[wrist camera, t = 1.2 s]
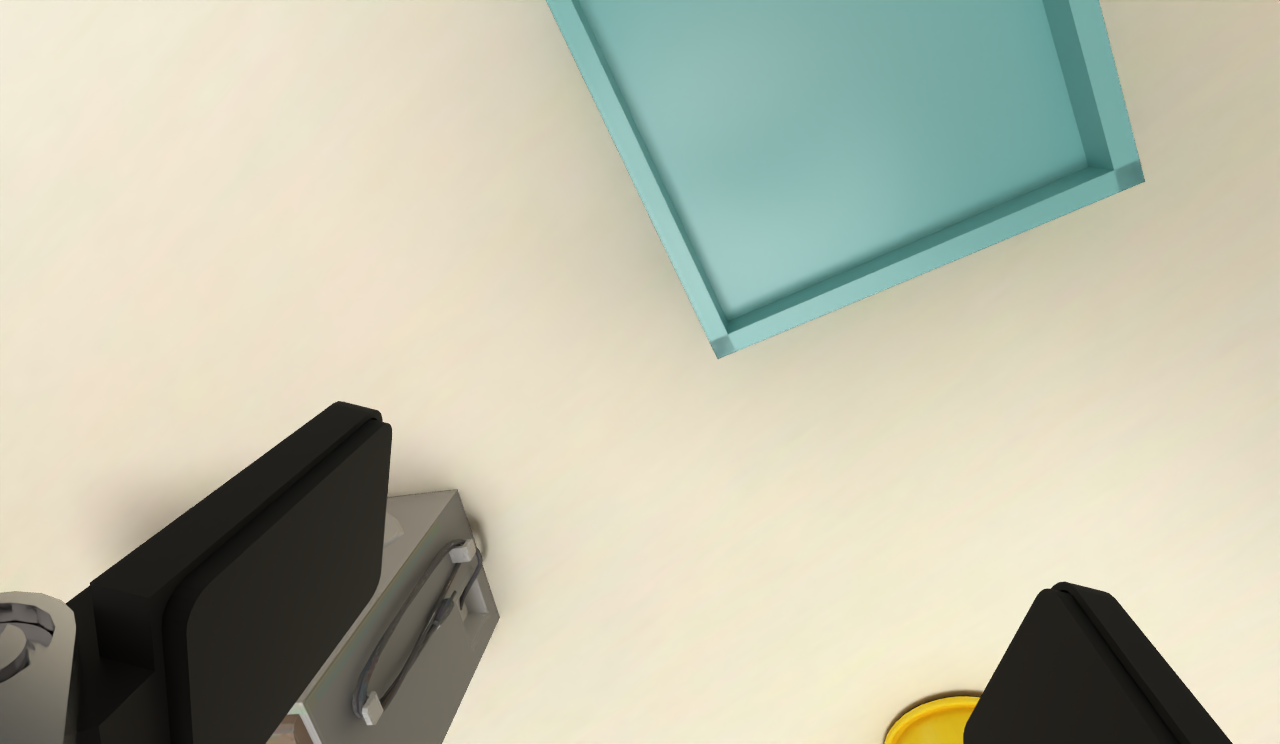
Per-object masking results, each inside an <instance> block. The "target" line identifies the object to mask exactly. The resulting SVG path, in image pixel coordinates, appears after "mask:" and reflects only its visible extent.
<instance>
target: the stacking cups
mask: <svg viewBox="0 0 1280 744" xmlns="http://www.w3.org/2000/svg"><path fill="white" fill-rule="evenodd" d="M979 699H980V697H969V696H961V697H948V698H943V699H939V700H934V701H931V702H928V703H925V704H922V705H920V706H918V707H916V708H914V709H912V710H911V711H909V712H907V713H906V714H904V715H903V716H902V717H901V718H900V719H899V720H898V721H897V722H895V724H894V725H893V726H892V728H891V729H890V731H889V732H888V734H887V736H886V739H885V742H884V744H963V733H964V728H965V725H966V723H967V721H968V719H969V717H970V715H971V714H972V712H973V710H974V708H975V706H976V705H977V703H978V701H979Z"/></svg>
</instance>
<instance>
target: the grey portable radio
mask: <svg viewBox="0 0 1280 744" xmlns="http://www.w3.org/2000/svg"><path fill="white" fill-rule="evenodd" d="M499 618H500V617H499V614H498V611H497V608H496V605H495V602H494V599H493V596H492V593H491V590H490V586H489V583H488V580H487V577H486V574H485V571H484V568H483V565H482V556H481V553H480V551H479V549H478V548H477V547H476V544H475V541H474V538H473V535H472V532H471V529H470V526H469V523H468V520H467V517H466V514H465V511H464V508H463V505H462V502H461V499H460V496H459V493H458V490H448V491H440V492H431V493H422V494H414V495H405V496H397V497H388V498H387V505H386V518H385V531H384V543H383V556H382V569H381V576H380V580H379V584H378V586H377V589H376V591H375V593H374V595H373V597H372V598H371V600H370V601H369V603H368V604H367V606H366V607H365V608H364V610H363V611H362V612H361V614H360V615H359V617H358V618H357V619H356V621H355V622H354V623H353V625H352V626H351V627H350V629H349V630H348V632H347V633H346V634H345V636H344V637H343V638H342V640H341V641H340V643H339V644H338V645H337V647H336V648H335V649H334V651H333V652H332V653H331V655H330V656H329V658H328V659H327V660H326V662H325V663H324V664H323V666H322V667H321V669H320V670H319V671H318V673H317V674H316V675H315V677H314V678H313V679H312V681H311V682H310V684H309V685H308V686H307V688H306V689H305V690H304V692H303V693H302V695H301V696H300V697H299V699H298V700H297V701H296V703H295V704H294V705H293V707H292V708H291V710H290V711H289V712H288V714H287V715H286V716H285V718H284V719H283V721H282V722H281V723H280V725H279V726H278V727H277V729H276V730H275V732H274V733H273V734H272V736H271V737H270V738H269V740H268V741H267V742H266V744H442V742H443V740H444V738H445V736H446V734H447V732H448V729H449V727H450V725H451V723H452V721H453V718H454V716H455V714H456V712H457V710H458V708H459V705H460V703H461V701H462V699H463V697H464V694H465V692H466V690H467V688H468V686H469V684H470V681H471V679H472V677H473V675H474V673H475V670H476V668H477V666H478V664H479V662H480V659H481V657H482V655H483V653H484V651H485V649H486V646H487V644H488V642H489V640H490V638H491V635H492V633H493V631H494V629H495V627H496V625H497V622H498V620H499Z"/></svg>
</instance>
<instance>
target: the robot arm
mask: <svg viewBox="0 0 1280 744" xmlns="http://www.w3.org/2000/svg"><path fill="white" fill-rule="evenodd" d="M391 442H392V428H391V425H390V424H388V423H384V422H382V416H381V413H380V412H379V411H378V410H374V409H370V408H366V407H362V406H358V405H354V404H350V403H346V402H341V401H338V402H336V403H333V404H332V405H331V406H329V407H328V408H327V409H325V410H324V411H322V412H321V413H320V414H318V415H317V416H316V417H314V418H313V419H312V420H310V421H309V422H308V423H306V424H305V425H303V426H302V427H301V428H299V429H298V430H297V431H295V432H294V433H293V434H291V435H290V436H289V437H287V438H286V439H284V440H283V441H282V442H280V443H279V444H278V445H276V446H275V447H274V448H272V449H271V450H270V451H268V452H267V453H265V454H264V455H263V456H261V457H260V458H259V459H257V460H256V461H255V462H253V463H252V464H250V465H249V466H248V467H246V468H245V469H244V470H242V471H241V472H240V473H238V474H237V475H236V476H234V477H233V478H231V479H230V480H229V481H227V482H226V483H225V484H223V485H222V486H221V487H219V488H218V489H217V490H215V491H214V492H212V493H211V494H210V495H208V496H207V497H206V498H204V499H203V500H202V501H200V502H199V503H198V504H196V505H195V506H193V507H192V508H191V509H189V510H188V511H187V512H185V513H184V514H183V515H181V516H180V517H179V518H177V519H176V520H174V521H173V522H172V523H170V524H169V525H168V526H166V527H165V528H164V529H162V530H161V531H159V532H158V533H157V534H155V535H154V536H153V537H151V538H150V539H149V540H147V541H146V542H145V543H143V544H142V545H140V546H139V547H138V548H136V549H135V550H134V551H132V552H131V553H130V554H128V555H127V556H126V557H124V558H123V559H121V560H120V561H119V562H117V563H116V564H115V565H113V566H112V567H111V568H109V569H108V570H107V571H105V572H104V573H102V574H101V575H100V576H98V577H97V578H96V579H94V580H93V581H92V582H90V586H89V587H87V588H86V589H85V590H83V591H82V592H81V593H79V594H78V595H77V596H75V597H74V598H73V599H71V600H70V601H69V602H67V603H66V604H65V603H64V602H63V601H62V600H59V599H56V598H54V597H51V596H48V595H45V594H42V593H31V592H18V591H14V592H4V593H0V744H266V742H267V741H268V740H269V738H270V737H271V736H272V734H273V733H274V732H275V730H276V729H277V727H278V726H279V725H280V723H281V722H282V721H283V719H284V718H285V716H286V715H287V714H288V712H289V711H290V710H291V708H292V707H293V705H294V704H295V703H296V701H297V700H298V699H299V697H300V696H301V695H302V693H303V692H304V690H305V689H306V688H307V686H308V685H309V684H310V682H311V681H312V679H313V678H314V677H315V675H316V674H317V673H318V671H319V670H320V669H321V667H322V666H323V664H324V663H325V662H326V660H327V659H328V658H329V656H330V655H331V653H332V652H333V651H334V649H335V648H336V647H337V645H338V644H339V643H340V641H341V640H342V638H343V637H344V636H345V634H346V633H347V632H348V630H349V629H350V627H351V626H352V625H353V623H354V622H355V621H356V619H357V618H358V617H359V615H360V614H361V612H362V611H363V610H364V608H365V607H366V606H367V604H368V603H369V601H370V600H371V598H372V597H373V595H374V593H375V591H376V589H377V586H378V584H379V580H380V576H381V569H382V556H383V543H384V531H385V518H386V505H387V493H388V480H389V468H390V455H391ZM963 744H1233V743H1232V742H1231V741H1230V740H1229V739H1228V737H1227V736H1226V735H1225V734H1224V732H1223V731H1222V730H1221V729H1220V727H1219V726H1218V725H1217V724H1216V722H1215V721H1214V720H1213V719H1212V718H1211V716H1210V715H1209V714H1208V713H1207V711H1206V710H1205V709H1204V708H1203V706H1202V705H1201V704H1200V703H1199V701H1198V700H1197V699H1196V698H1195V697H1194V695H1193V694H1192V693H1191V692H1190V690H1189V689H1188V688H1187V687H1186V685H1185V684H1184V683H1183V682H1182V680H1181V679H1180V678H1179V677H1178V675H1177V674H1176V673H1175V672H1174V671H1173V669H1172V668H1171V667H1170V666H1169V664H1168V663H1167V662H1166V661H1165V659H1164V658H1163V657H1162V656H1161V654H1160V653H1159V652H1158V651H1157V650H1156V648H1155V647H1154V646H1153V645H1152V643H1151V642H1150V641H1149V640H1148V638H1147V637H1146V636H1145V635H1144V633H1143V632H1142V631H1141V630H1140V628H1139V627H1138V626H1137V625H1136V624H1135V622H1134V621H1133V620H1132V619H1131V617H1130V616H1129V615H1128V614H1127V612H1126V611H1125V610H1124V609H1123V607H1122V606H1121V605H1120V604H1119V603H1118V601H1117V600H1116V599H1115V598H1114V597H1113V596H1112V595H1111V594H1109V593H1107V592H1104V591H1100V590H1096V589H1092V588H1088V587H1084V586H1080V585H1076V584H1072V583H1068V582H1059V583H1057V584H1056V585H1054V586H1053V587H1052V588H1051V589H1044V590H1042V591H1041V592H1040V593H1039V594H1038V595H1037V597H1036V598H1035V600H1034V602H1033V604H1032V606H1031V607H1030V609H1029V611H1028V613H1027V615H1026V616H1025V618H1024V620H1023V622H1022V624H1021V625H1020V627H1019V629H1018V631H1017V633H1016V634H1015V636H1014V638H1013V640H1012V642H1011V643H1010V645H1009V647H1008V649H1007V651H1006V652H1005V654H1004V656H1003V658H1002V660H1001V661H1000V663H999V665H998V667H997V669H996V670H995V672H994V674H993V676H992V678H991V679H990V681H989V683H988V685H987V687H986V688H985V690H984V692H983V694H982V696H981V697H980V699H979V701H978V703H977V705H976V706H975V708H974V710H973V712H972V714H971V715H970V717H969V719H968V721H967V723H966V725H965V728H964V733H963Z"/></svg>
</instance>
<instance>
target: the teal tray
mask: <svg viewBox="0 0 1280 744" xmlns="http://www.w3.org/2000/svg"><path fill="white" fill-rule="evenodd" d="M546 1H547V4H548V6H549V8H550V10H551V12H552V14H553V16H554V18H555V20H556V22H557V24H558V26H559V29H560V31H561V33H562V35H563V37H564V39H565V41H566V43H567V45H568V47H569V49H570V52H571V54H572V56H573V58H574V60H575V62H576V64H577V66H578V68H579V70H580V72H581V75H582V77H583V79H584V81H585V83H586V85H587V87H588V89H589V91H590V93H591V95H592V98H593V100H594V102H595V104H596V106H597V108H598V110H599V112H600V114H601V116H602V118H603V121H604V123H605V125H606V127H607V129H608V131H609V133H610V135H611V137H612V139H613V141H614V143H615V146H616V148H617V150H618V152H619V154H620V156H621V158H622V160H623V162H624V164H625V166H626V169H627V171H628V173H629V175H630V177H631V179H632V181H633V183H634V185H635V187H636V189H637V192H638V194H639V196H640V198H641V200H642V202H643V204H644V206H645V208H646V210H647V212H648V215H649V217H650V219H651V221H652V223H653V225H654V227H655V229H656V231H657V233H658V235H659V237H660V240H661V242H662V244H663V246H664V248H665V250H666V252H667V254H668V256H669V258H670V260H671V263H672V265H673V267H674V269H675V271H676V273H677V275H678V277H679V279H680V281H681V283H682V286H683V288H684V290H685V292H686V294H687V296H688V298H689V300H690V302H691V304H692V306H693V309H694V311H695V313H696V315H697V317H698V319H699V321H700V323H701V325H702V327H703V329H704V332H705V334H706V336H707V338H708V340H709V342H710V344H711V346H712V348H713V350H714V352H715V354H716V357H717V359H719V358H722V357H724V356H726V355H729V354H731V353H734V352H736V351H738V350H741V349H743V348H746V347H748V346H750V345H753V344H755V343H758V342H760V341H762V340H765V339H767V338H770V337H772V336H774V335H777V334H779V333H782V332H784V331H787V330H789V329H791V328H794V327H796V326H799V325H801V324H803V323H806V322H808V321H811V320H813V319H815V318H818V317H820V316H823V315H825V314H827V313H830V312H832V311H835V310H837V309H839V308H842V307H844V306H847V305H849V304H851V303H854V302H856V301H859V300H861V299H863V298H866V297H868V296H871V295H873V294H875V293H878V292H880V291H883V290H885V289H888V288H890V287H892V286H895V285H897V284H900V283H902V282H904V281H907V280H909V279H912V278H914V277H916V276H919V275H921V274H924V273H926V272H928V271H931V270H933V269H936V268H938V267H940V266H943V265H945V264H948V263H950V262H952V261H955V260H957V259H960V258H962V257H964V256H967V255H969V254H972V253H974V252H976V251H979V250H981V249H984V248H986V247H989V246H991V245H993V244H996V243H998V242H1001V241H1003V240H1005V239H1008V238H1010V237H1013V236H1015V235H1017V234H1020V233H1022V232H1025V231H1027V230H1029V229H1032V228H1034V227H1037V226H1039V225H1041V224H1044V223H1046V222H1049V221H1051V220H1053V219H1056V218H1058V217H1061V216H1063V215H1065V214H1068V213H1070V212H1073V211H1075V210H1077V209H1080V208H1082V207H1085V206H1087V205H1090V204H1092V203H1094V202H1097V201H1099V200H1102V199H1104V198H1106V197H1109V196H1111V195H1114V194H1116V193H1118V192H1121V191H1123V190H1126V189H1128V188H1130V187H1133V186H1135V185H1138V184H1140V183H1142V182H1145V179H1144V175H1143V171H1142V167H1141V164H1140V160H1139V156H1138V152H1137V148H1136V144H1135V140H1134V136H1133V132H1132V128H1131V124H1130V121H1129V117H1128V113H1127V109H1126V105H1125V101H1124V97H1123V93H1122V89H1121V85H1120V81H1119V78H1118V74H1117V70H1116V66H1115V62H1114V58H1113V54H1112V50H1111V46H1110V42H1109V38H1108V35H1107V31H1106V27H1105V23H1104V19H1103V15H1102V11H1101V7H1100V3H1099V0H546Z"/></svg>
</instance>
